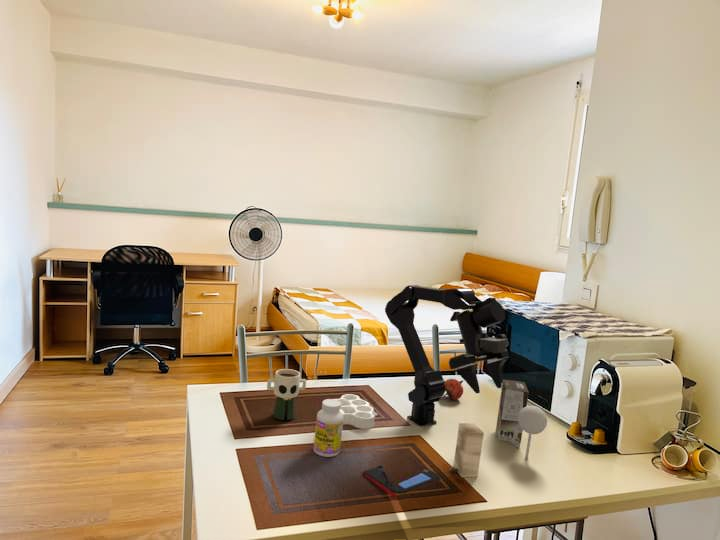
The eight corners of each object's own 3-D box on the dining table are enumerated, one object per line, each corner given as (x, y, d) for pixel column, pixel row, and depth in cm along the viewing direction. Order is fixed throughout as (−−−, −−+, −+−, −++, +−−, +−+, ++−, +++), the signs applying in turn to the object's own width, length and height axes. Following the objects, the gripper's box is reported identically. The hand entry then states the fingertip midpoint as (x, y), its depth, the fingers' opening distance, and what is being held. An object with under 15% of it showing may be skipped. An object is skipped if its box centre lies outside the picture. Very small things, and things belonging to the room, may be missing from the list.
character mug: (265, 422, 140) (269, 377, 138) (263, 412, 147) (266, 368, 145) (305, 422, 143) (309, 377, 142) (300, 411, 150) (304, 368, 148)
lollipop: (540, 458, 136) (548, 405, 134) (540, 471, 129) (549, 414, 128) (512, 452, 138) (520, 399, 136) (511, 463, 132) (519, 408, 130)
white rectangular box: (445, 466, 124) (451, 423, 122) (468, 465, 125) (474, 423, 124) (453, 477, 119) (459, 432, 118) (477, 476, 120) (483, 432, 119)
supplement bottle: (308, 453, 126) (313, 403, 124) (320, 442, 132) (325, 395, 130) (333, 460, 124) (338, 410, 122) (344, 449, 130) (349, 401, 128)
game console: (406, 461, 128) (407, 452, 128) (443, 486, 118) (444, 477, 118) (360, 475, 119) (361, 466, 119) (396, 503, 109) (398, 494, 109)
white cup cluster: (319, 405, 157) (364, 403, 162) (335, 431, 140) (385, 429, 145) (320, 394, 157) (365, 393, 162) (337, 419, 140) (386, 417, 145)
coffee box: (520, 448, 141) (529, 392, 139) (496, 443, 142) (505, 388, 140) (517, 434, 150) (525, 381, 148) (495, 430, 151) (502, 378, 149)
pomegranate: (448, 410, 169) (473, 393, 170) (437, 392, 168) (462, 375, 169) (442, 403, 176) (465, 387, 177) (431, 386, 176) (454, 370, 177)
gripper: (472, 326, 126) (491, 389, 122) (516, 321, 138) (534, 379, 134) (440, 338, 134) (457, 398, 130) (484, 333, 146) (501, 387, 142)
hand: (489, 390), depth 134 cm, fingers open, 9 cm apart
